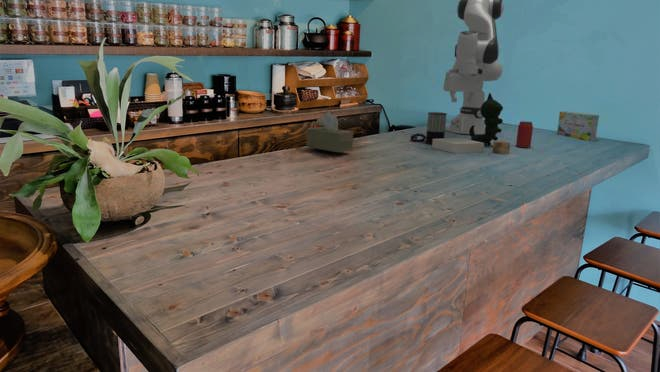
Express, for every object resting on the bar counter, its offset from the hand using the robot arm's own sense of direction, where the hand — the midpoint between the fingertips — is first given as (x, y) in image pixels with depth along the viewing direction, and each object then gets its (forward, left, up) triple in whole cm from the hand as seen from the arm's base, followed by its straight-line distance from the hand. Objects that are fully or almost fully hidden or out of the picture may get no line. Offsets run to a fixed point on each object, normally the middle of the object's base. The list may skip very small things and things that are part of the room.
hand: (461, 102), depth 222 cm
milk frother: (-22, -1, -21) cm, 30 cm away
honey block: (+12, +14, -21) cm, 28 cm away
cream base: (0, 0, -21) cm, 21 cm away
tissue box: (-17, -56, -22) cm, 62 cm away
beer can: (0, +40, -21) cm, 45 cm away
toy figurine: (-10, +24, -21) cm, 34 cm away
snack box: (-12, +90, -21) cm, 93 cm away
